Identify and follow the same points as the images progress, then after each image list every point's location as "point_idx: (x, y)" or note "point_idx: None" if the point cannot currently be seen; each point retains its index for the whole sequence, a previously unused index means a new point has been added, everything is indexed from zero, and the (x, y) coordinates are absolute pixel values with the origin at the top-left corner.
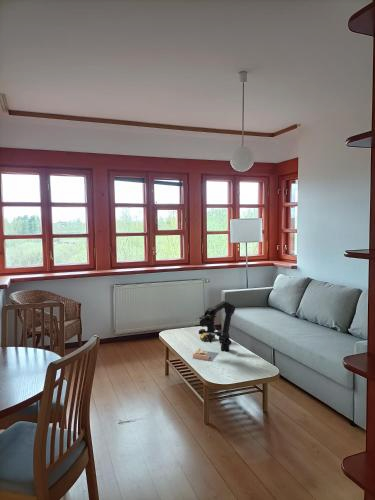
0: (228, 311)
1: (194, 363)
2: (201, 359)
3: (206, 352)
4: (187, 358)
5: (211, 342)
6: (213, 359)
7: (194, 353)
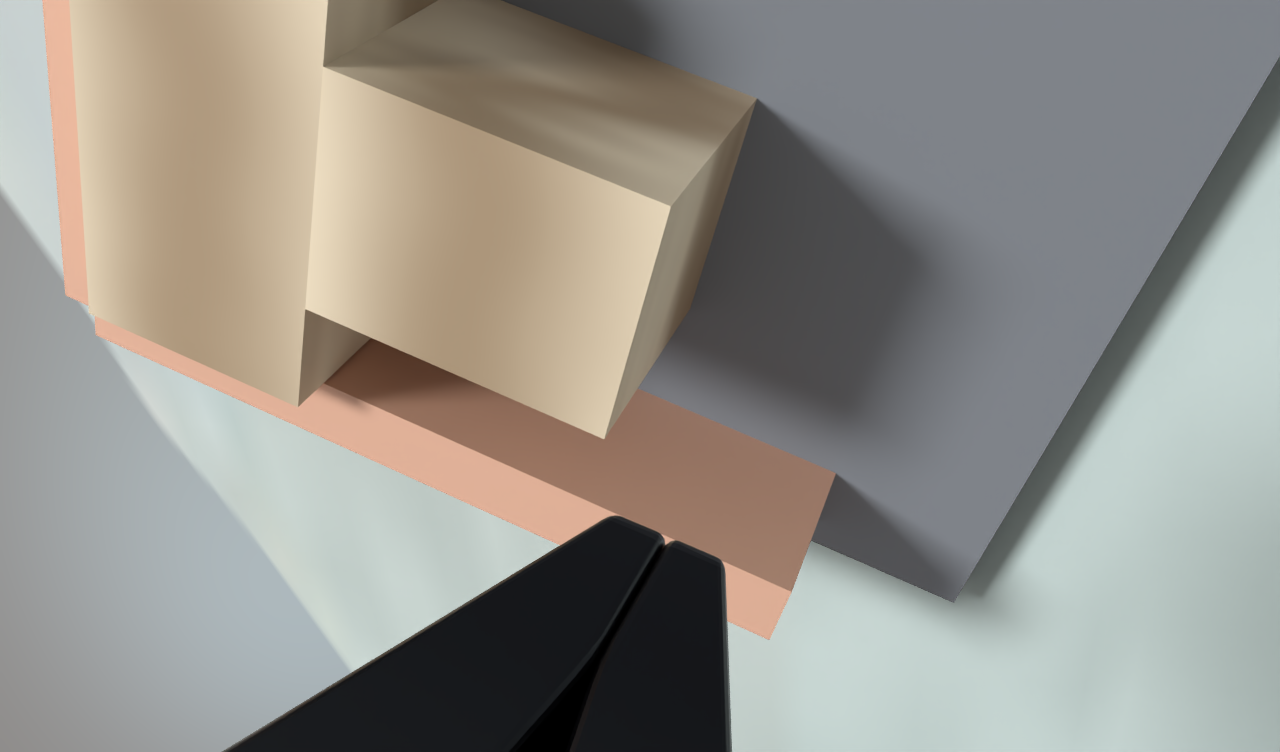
0: None
1: (367, 588)
2: None
3: (609, 304)
4: (39, 194)
5: (724, 585)
6: (1034, 447)
7: None
